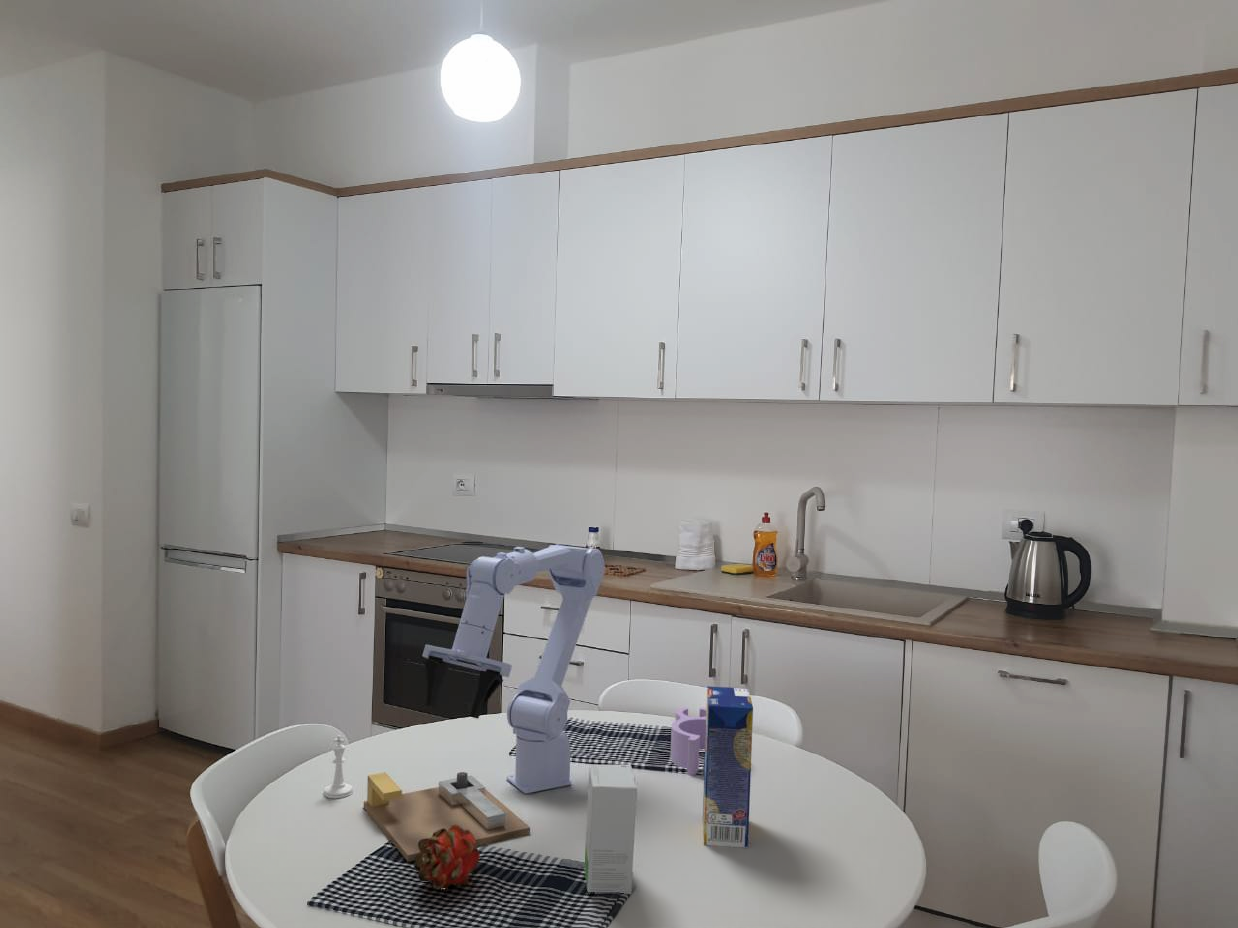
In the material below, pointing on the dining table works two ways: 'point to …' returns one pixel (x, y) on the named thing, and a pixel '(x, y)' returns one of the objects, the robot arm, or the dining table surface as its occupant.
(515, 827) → the board
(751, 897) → the dining table surface
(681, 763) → the clip
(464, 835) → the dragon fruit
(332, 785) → the chess piece
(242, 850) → the dining table surface
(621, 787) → the skincare box
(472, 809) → the link
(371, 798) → the block
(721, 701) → the beverage box
